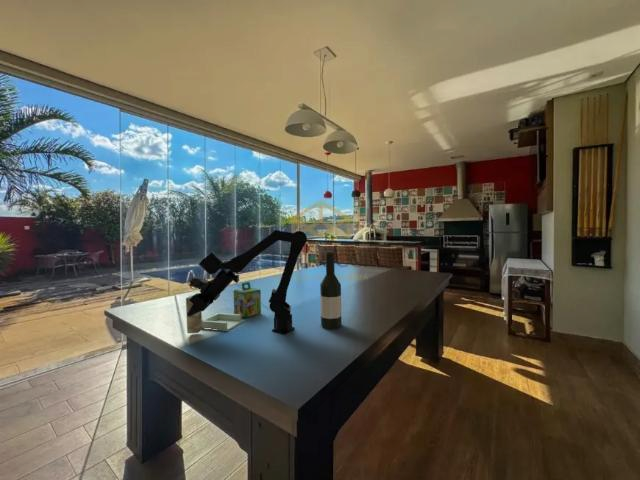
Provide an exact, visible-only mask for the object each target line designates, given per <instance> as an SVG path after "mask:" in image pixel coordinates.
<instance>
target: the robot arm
mask: <svg viewBox="0 0 640 480" xmlns="http://www.w3.org/2000/svg"><path fill="white" fill-rule="evenodd" d="M278 241H280V242H281V241H282V242H289V243H290V246H289V253H288V256H287V259H286V262H285V265H284V267H283V268H284V269H283V271H282V274H281V277H280V281H279V283H278V284H279V285H278V286H277V288H276V289H275V288H272V291H271V296H270V297H269V300H268V303H269V309H270V311H271V312H273V313H274V315H273V316H274V317H273V329H271V332H274V333H278V334H283V335H286V334H288V333H289V332H291V331H293V330H295V326H293V314H292V313H291V311H292V310H291V309H292V308H291V305H290V304H289V303H288V302H287V301H286V300H287V293H288V288H289V287H290V283H291V279H292V276H293V273H294V270H295V268H296V264H297V260H298V257H299V256H300V254H301V252H302V251H303V249H304V247H305V245H306V243H307V241H308V237H307V234H306V233H305V232H303V230H302V231H301V230H298V231H294V232H290V231H283V230H282V231H281V230H278V229H275V230H273V231H272V232H271V233H270V234H269V235H267V236H265V238H263V239H262V240H260V241H259V242H258V243H257V244H255V245H253V246H252V247H251V248H249V249H248V250H247V251H244V252H243V253H240V254H239V255H237V256H235V257H233V258H230V260H224V261H223V260H222V259H221V258H220V257H218V256H217V254H216V253H215V252H213V251H212V252H210V254H208V255H207V256H206V257H205V258H203V259H202V260H201V261H200V262H199V263H198V266H199V267H201V268H202V270H204V271H205V272H206V273H207V274H208V275H210V276H211V275H216V276H214V277H213V279H211V280H208V279H206V278H203V277H200V276H198V275H195V276H193V277H192V278H191V279H190V280H189V286H190V287H192V288H196V289H198V290H199V293H195V294H193V295H191V296H192V297H191V298H190V299H189V300H190V302H191V303H193V305H192V307H191V309H190V310H189V312H188V314H187V313H186V316H187V315H188V316H191V315H194V314H196V313H198V312H200V311H202V312H204V311H206V309H208V307H209V306H210V305H212V304H213V303H214V302H215V301H216V300H218V299H219V298H220V296H221V294H222V292H224V291H225V289H226V288H227V287H229V285H230V284H231V283H232V282H234V283H236V284H237V283H239V282H240V274H238V273H241V272H243V270H244V269H246V268H247V267H248V266H249V264H251V262H252V261H253V260H255V258H256V257H257V256H259V255H260V254H261V253H264V251H266V250H267V249H268V248H270V247H271V246H273V244H275V243H276V242H278Z"/></svg>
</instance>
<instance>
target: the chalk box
mask: <svg viewBox="0 0 640 480" xmlns="http://www.w3.org/2000/svg"><path fill="white" fill-rule="evenodd" d="M245 286H247V287H245ZM261 294H262V293H261V289H259V288H258V289H257V288H253V287H252V288H251V283H250V281H246V282H242V283H241V288H240V289H234V290H233V314H241V318H245V319H248V318H250V317H253V316H257V315H260V313H261V314H262V305H261V303H262V300H261V299H262V296H261Z"/></svg>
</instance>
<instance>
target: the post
mask: <svg viewBox="0 0 640 480" xmlns="http://www.w3.org/2000/svg"><path fill="white" fill-rule="evenodd" d="M192 296H193V295H189V296H187V297H185V308H186V309H185V310H186V332H187V334H198V333H200V332H201V331H202V330H203V329H202V320H203V317H202V314H203V311H200V312H198V313H196V314H194V315H191V316H188V315H187V314H188V312H189V310H190V309H191V307H192V305H193V303H191V302H190V300H189V299H190V298H191V297H192Z"/></svg>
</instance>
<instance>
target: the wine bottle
mask: <svg viewBox="0 0 640 480" xmlns="http://www.w3.org/2000/svg"><path fill="white" fill-rule="evenodd" d="M335 269H336V268H335V252H334V251H333V250H327V251H326V253H325V276H324V277H323V279H322V281H321V283H320V284H319V285H320V286H319V287H320V293H319V294H320V325H321V328H322V329H325V330H338V329H340V328H341V327H342V285H341V283H340V281H339V279H338V278H337V276H336V273H335Z"/></svg>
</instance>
